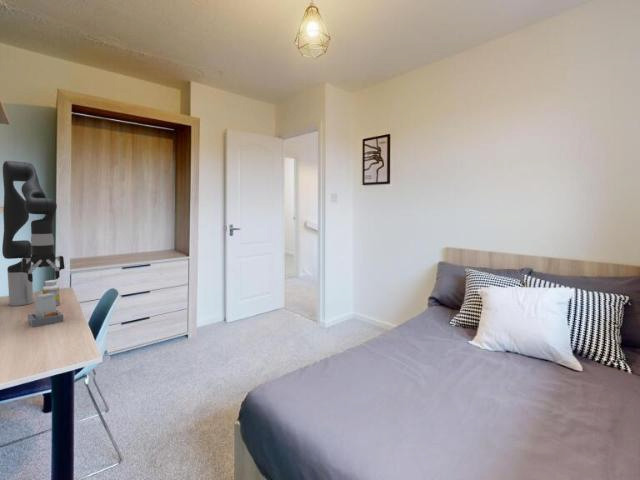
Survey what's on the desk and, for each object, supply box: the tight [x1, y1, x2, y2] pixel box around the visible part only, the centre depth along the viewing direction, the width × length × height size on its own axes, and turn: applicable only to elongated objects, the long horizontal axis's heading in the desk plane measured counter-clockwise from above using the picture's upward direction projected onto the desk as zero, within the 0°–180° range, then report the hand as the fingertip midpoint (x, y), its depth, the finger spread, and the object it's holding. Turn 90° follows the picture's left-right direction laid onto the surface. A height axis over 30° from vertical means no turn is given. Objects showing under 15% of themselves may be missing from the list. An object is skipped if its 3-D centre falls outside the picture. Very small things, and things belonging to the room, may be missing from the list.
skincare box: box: [34, 293, 57, 319], centre depth 143 cm, size 6×4×12 cm
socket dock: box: [27, 309, 64, 328], centre depth 143 cm, size 10×10×3 cm
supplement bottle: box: [42, 279, 61, 307], centre depth 167 cm, size 7×7×13 cm
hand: (44, 280), depth 142 cm, fingers open, 8 cm apart
